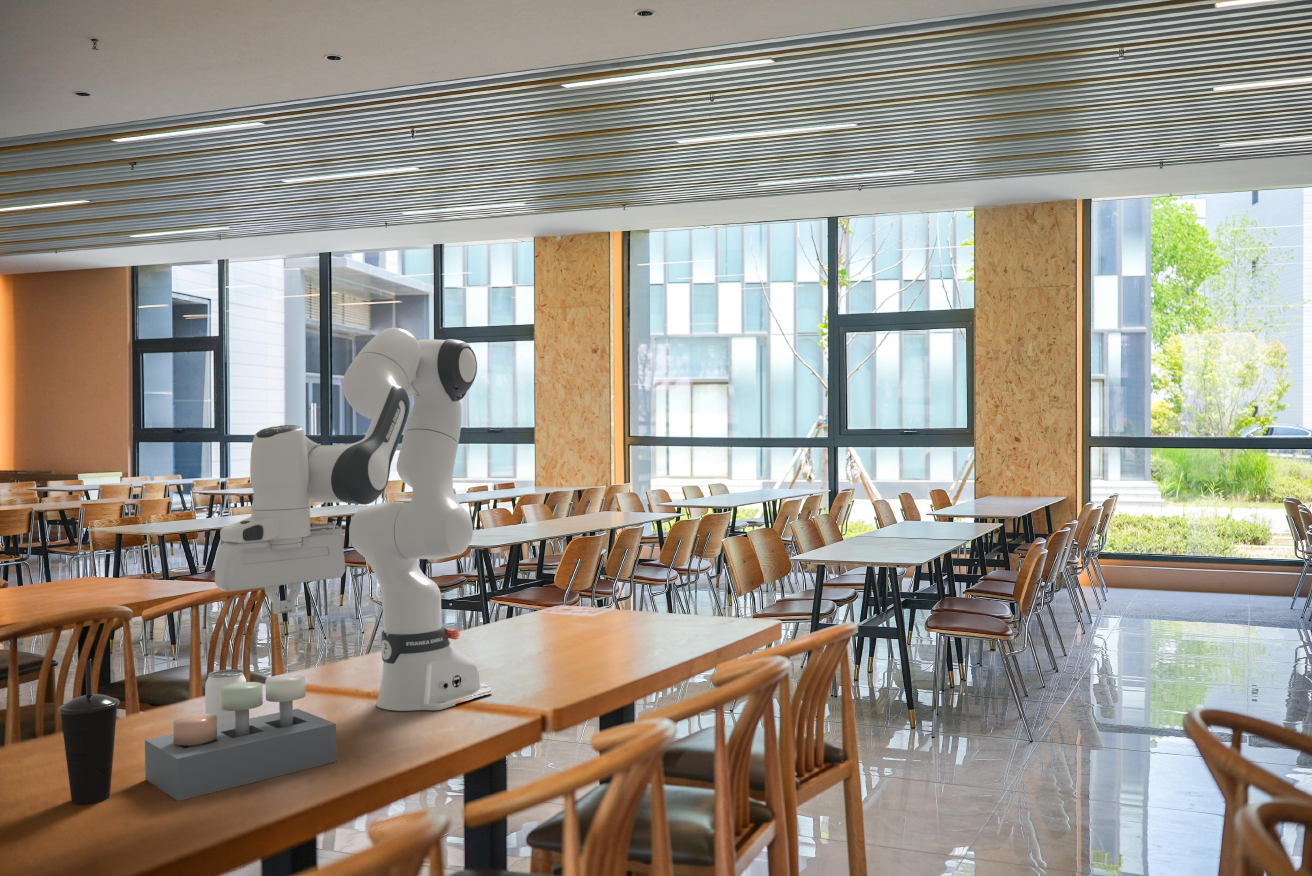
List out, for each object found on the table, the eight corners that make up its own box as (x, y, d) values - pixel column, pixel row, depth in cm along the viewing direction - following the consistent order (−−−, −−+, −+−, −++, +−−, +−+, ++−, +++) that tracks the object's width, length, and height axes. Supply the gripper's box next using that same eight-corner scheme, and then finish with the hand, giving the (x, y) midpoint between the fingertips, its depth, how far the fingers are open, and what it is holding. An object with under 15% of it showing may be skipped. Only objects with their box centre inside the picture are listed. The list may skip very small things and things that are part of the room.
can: (232, 749, 167) (230, 677, 167) (197, 748, 168) (196, 676, 168) (255, 738, 173) (253, 668, 173) (221, 737, 174) (220, 668, 175)
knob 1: (209, 766, 155) (208, 711, 155) (224, 775, 151) (223, 718, 151) (168, 776, 151) (167, 719, 151) (182, 785, 147) (181, 727, 147)
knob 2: (296, 724, 165) (295, 672, 165) (312, 730, 161) (311, 677, 161) (260, 732, 161) (259, 678, 161) (276, 739, 156) (274, 684, 156)
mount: (298, 744, 169) (297, 708, 169) (336, 761, 159) (336, 723, 159) (145, 779, 152) (144, 739, 152) (177, 800, 142) (177, 758, 142)
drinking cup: (56, 811, 139) (53, 667, 139) (64, 794, 146) (61, 657, 146) (118, 802, 142) (115, 661, 142) (123, 786, 149) (120, 652, 149)
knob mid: (254, 733, 160) (253, 680, 160) (269, 740, 156) (268, 685, 156) (215, 741, 156) (214, 686, 156) (230, 749, 151) (229, 692, 152)
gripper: (333, 520, 170) (335, 601, 170) (209, 530, 156) (212, 619, 156) (351, 522, 166) (353, 605, 166) (225, 532, 152) (227, 624, 152)
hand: (283, 612), depth 161 cm, fingers closed
